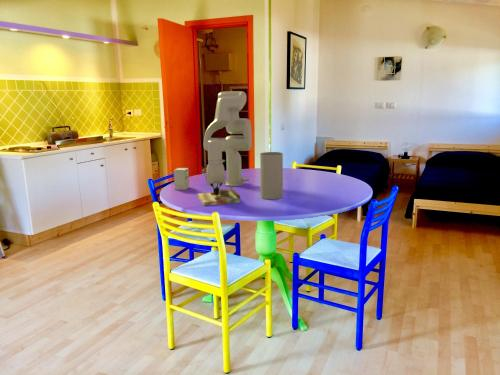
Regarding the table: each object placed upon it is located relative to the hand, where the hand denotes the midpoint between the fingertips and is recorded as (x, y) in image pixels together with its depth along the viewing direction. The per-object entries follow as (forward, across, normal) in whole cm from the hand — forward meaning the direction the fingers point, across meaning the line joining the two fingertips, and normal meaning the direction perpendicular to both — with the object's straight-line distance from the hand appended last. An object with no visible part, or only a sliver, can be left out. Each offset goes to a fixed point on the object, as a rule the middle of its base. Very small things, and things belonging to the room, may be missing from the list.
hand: (216, 194), depth 231 cm
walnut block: (+1, -4, 0) cm, 4 cm away
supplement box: (+3, +15, -35) cm, 38 cm away
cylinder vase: (+3, -31, +5) cm, 32 cm away
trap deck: (+3, -1, 0) cm, 3 cm away
